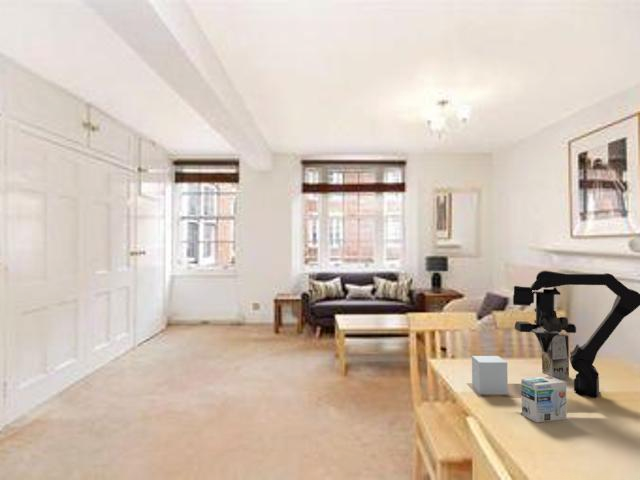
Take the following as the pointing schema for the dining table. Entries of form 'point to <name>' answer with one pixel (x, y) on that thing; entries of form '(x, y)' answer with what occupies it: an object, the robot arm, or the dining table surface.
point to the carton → (489, 375)
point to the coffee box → (557, 358)
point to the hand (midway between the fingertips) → (544, 351)
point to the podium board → (513, 392)
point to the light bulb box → (543, 399)
